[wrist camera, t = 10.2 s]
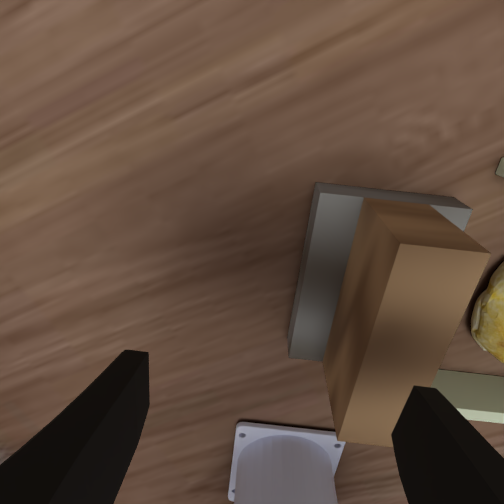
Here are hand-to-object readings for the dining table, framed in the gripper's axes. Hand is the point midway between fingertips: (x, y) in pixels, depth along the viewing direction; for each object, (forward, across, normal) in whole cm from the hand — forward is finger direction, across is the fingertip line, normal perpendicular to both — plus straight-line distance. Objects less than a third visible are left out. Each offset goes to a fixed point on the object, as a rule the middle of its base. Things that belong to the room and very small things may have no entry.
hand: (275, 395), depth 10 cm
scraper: (+11, -5, +2) cm, 12 cm away
